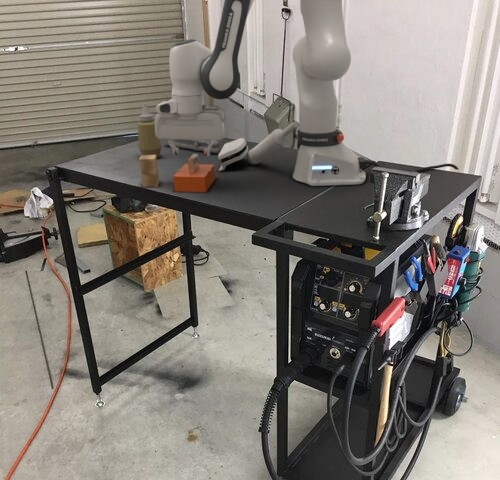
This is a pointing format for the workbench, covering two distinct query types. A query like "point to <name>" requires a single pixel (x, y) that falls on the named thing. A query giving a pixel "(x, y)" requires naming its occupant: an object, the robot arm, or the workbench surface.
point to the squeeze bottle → (148, 134)
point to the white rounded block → (232, 152)
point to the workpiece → (149, 170)
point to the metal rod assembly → (196, 145)
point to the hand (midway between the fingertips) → (191, 155)
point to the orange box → (194, 179)
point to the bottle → (270, 144)
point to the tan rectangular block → (193, 163)
